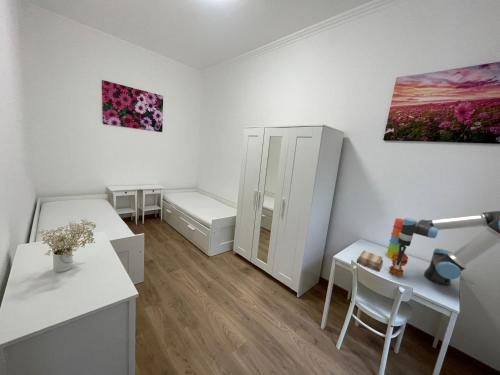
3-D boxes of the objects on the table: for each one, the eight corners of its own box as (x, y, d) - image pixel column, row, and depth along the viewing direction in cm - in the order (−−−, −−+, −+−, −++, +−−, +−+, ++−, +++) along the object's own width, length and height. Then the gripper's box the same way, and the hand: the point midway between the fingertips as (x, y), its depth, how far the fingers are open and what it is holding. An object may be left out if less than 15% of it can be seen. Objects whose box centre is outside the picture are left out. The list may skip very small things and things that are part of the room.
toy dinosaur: (407, 279, 156) (413, 257, 152) (391, 276, 158) (396, 254, 154) (400, 270, 166) (406, 249, 162) (385, 268, 168) (390, 247, 164)
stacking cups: (400, 261, 181) (410, 222, 174) (386, 257, 185) (395, 219, 178) (398, 255, 190) (407, 219, 183) (384, 252, 195) (393, 216, 187)
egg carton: (382, 263, 174) (384, 257, 173) (379, 271, 162) (380, 264, 161) (361, 256, 184) (362, 249, 183) (356, 262, 172) (357, 256, 170)
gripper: (400, 232, 168) (393, 257, 172) (396, 242, 149) (389, 269, 153) (412, 236, 163) (405, 261, 168) (410, 246, 144) (401, 274, 149)
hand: (397, 265), depth 161 cm, fingers open, 13 cm apart
